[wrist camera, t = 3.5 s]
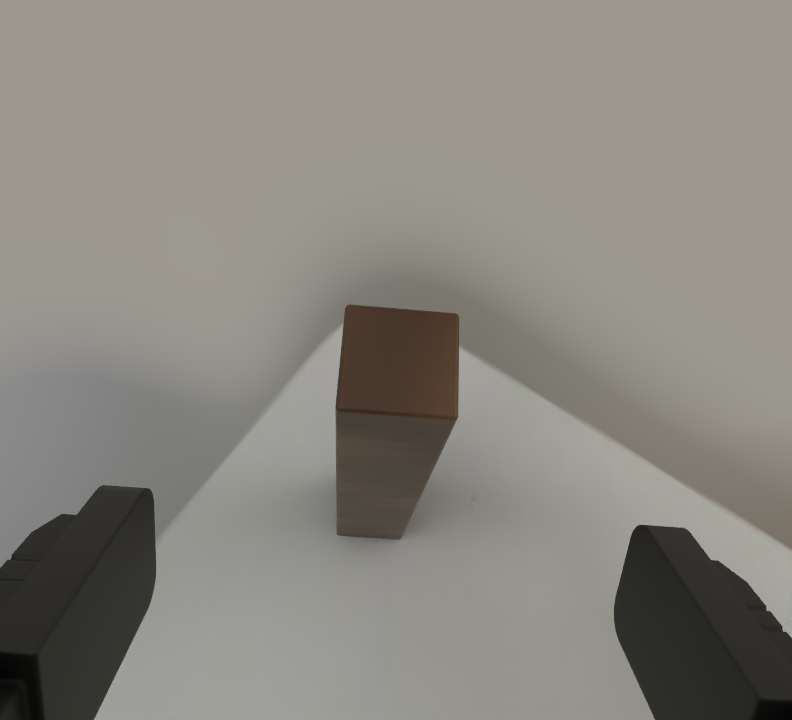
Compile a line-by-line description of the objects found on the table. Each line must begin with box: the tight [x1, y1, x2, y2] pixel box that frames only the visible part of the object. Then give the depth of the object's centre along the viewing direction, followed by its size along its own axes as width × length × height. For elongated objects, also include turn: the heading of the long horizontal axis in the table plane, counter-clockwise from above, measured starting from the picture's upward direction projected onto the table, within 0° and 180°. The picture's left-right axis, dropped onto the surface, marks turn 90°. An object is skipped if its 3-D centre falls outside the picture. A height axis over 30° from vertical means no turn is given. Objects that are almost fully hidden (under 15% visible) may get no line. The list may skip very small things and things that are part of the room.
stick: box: [336, 305, 459, 539], centre depth 19 cm, size 2×2×13 cm
